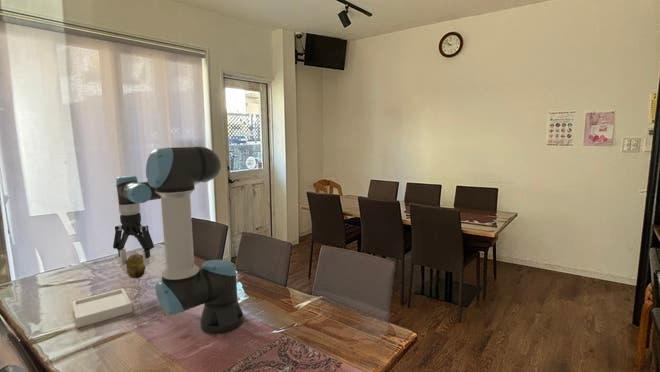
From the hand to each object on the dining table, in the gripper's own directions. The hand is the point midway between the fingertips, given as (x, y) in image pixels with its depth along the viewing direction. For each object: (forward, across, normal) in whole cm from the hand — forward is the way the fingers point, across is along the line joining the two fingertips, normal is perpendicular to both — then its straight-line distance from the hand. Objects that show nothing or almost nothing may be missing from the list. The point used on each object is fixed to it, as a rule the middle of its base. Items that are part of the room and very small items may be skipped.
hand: (135, 264), depth 152 cm
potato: (+5, 0, 0) cm, 5 cm away
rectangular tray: (+15, +6, +12) cm, 20 cm away
